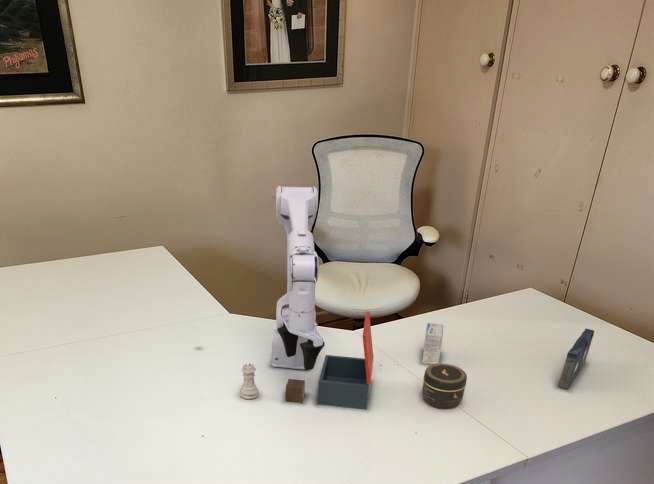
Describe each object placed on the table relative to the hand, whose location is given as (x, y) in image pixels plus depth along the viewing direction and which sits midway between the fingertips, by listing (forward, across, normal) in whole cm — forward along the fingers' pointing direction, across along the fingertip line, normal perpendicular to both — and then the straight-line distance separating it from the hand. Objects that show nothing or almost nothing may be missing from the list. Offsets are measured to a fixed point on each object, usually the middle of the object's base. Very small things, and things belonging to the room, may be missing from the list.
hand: (299, 362), depth 145 cm
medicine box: (+9, -2, -42) cm, 43 cm away
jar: (+9, -20, -28) cm, 36 cm away
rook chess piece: (+9, +6, +10) cm, 15 cm away
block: (+9, 0, +1) cm, 9 cm away
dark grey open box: (+9, -5, -10) cm, 15 cm away
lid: (-4, -8, -14) cm, 16 cm away
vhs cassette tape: (+9, -29, -68) cm, 74 cm away
